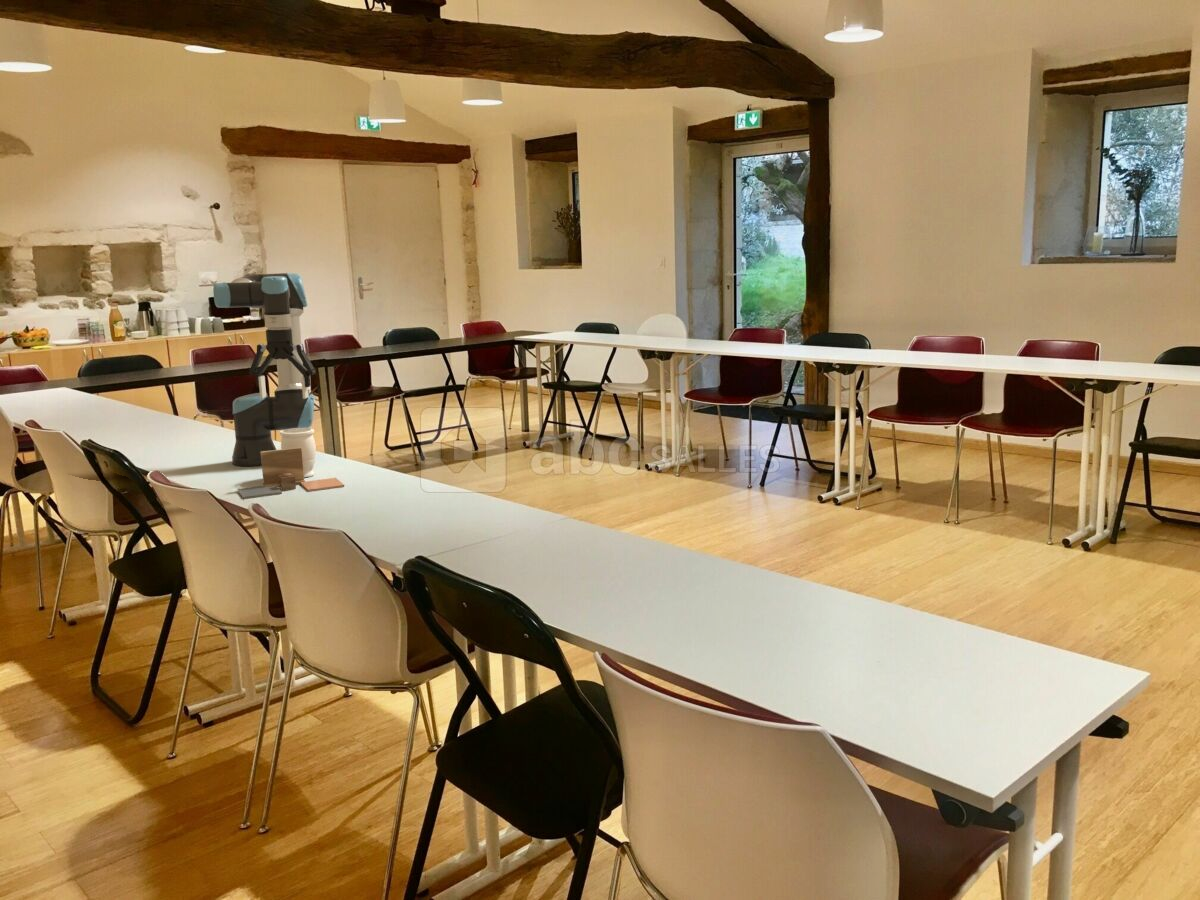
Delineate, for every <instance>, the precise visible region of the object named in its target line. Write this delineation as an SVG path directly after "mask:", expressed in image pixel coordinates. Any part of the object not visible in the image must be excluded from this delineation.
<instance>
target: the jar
mask: <svg viewBox="0 0 1200 900" xmlns="http://www.w3.org/2000/svg"><path fill="white" fill-rule="evenodd" d="M314 433H315V429H314V428H313V427H309V428H291V429H286V430H279V434H280V436H281V441H280V449H289V448H298V447H301V450H302V462H303V474H304V479H305V478H311V477H313V476H314V475H315V472H314V471H313V469H314V467H315V463H316V451H317V450H316V449H317V447H316V442H315V437H314V435H313V434H314Z"/></svg>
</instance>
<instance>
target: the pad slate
mask: <svg viewBox="0 0 1200 900" xmlns="http://www.w3.org/2000/svg"><path fill="white" fill-rule="evenodd" d="M236 491H237V492H238V493H239V496H241V498H242V499H243V500H244V499H245V500H246V499H252V498H253V499H254V498H261V497H262V498H263V497H269V496H277V495H282V494H283V493H282V490H281V489H280V488H279V487H277V486H276V485H275V486H267V487H265V486H263V485H259V486H253V487H252V486H251V487H244V488H242V487H241V488H237V489H236Z"/></svg>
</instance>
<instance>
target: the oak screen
mask: <svg viewBox="0 0 1200 900" xmlns="http://www.w3.org/2000/svg"><path fill="white" fill-rule="evenodd" d="M261 462H262V465H261V470H262V486H265V487H267V486H275V485H276V486H277V487H278V488H280V482H279V475H282V474H286V473H291V474H293V475H294V476H295V483H296V486H297V485H301V484H300V482H306V480H305V478H304V474H303V462H302V450H301V447H298V448H289V449H281V448H280V449H276V450H271V451H262V452H261Z"/></svg>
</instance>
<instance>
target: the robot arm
mask: <svg viewBox="0 0 1200 900" xmlns="http://www.w3.org/2000/svg"><path fill="white" fill-rule="evenodd" d="M213 301H214V305H215V306H216V308H218V309H219V308H222V309H223V308H225V309H229V308H250V309H251V308H253V309H263V314H264V315H263V316H264V326H265V328H266V330H265V337H266V338H265V340H266V344H264V343H259V344H257V345H256V353H255V355H254V358H253V361H252V363H251V366H250V368H249V371H248V374H249V375H252V376H254V377H255V384H256V385H255V386H256V388H259V392H255V393H250V394H246V395H243V396H239V397H237V398H235V399H234V400H233V401H232V415H233V424H234V435H235V443H234V448H233V453H232V455H231V456H232V457H231V461H232V462H231V463H232V465H234V466H238V467H256V466H262V462H261V452H262V451H271V450H277V448H276V445H275V442H274V441H273V438H272V431H282V430H286V429H291V428H312V426H313V421H314V412H315V411H314V410H315V395H314V394H312V393H310V388H309V387H311V385H312V384H311V376H313V375H315V374H316V373H317V371H316V369H315V367H314V365H313V364H312V361H311V360H310V359H309V357H308V355H307V353H306V351H305V347H304V344H303V343H302V335H301V324H300V323H301V321H300V317H301V316H302V314H303V313H304V308H306V307H308V302H307V298H306V294H305V288H304V283H303V278H302V276H301V275H300V274H298V273H288V272H286V273H261V274H260V273H257V274H249V275H246V276H245V275H244V276H242V277H241V276H240V277H239V278H235V279H234V280H232V281H231V282H219V283H218V282H217V283H214V285H213ZM266 351H267V352H268V354H267V355H266V357H265V359H264V361H263V362H262V364H260V363H261V360H262V358H263V356H264V354H265V353H264V352H266ZM273 360H276V368H277V383H278V385H277V387H276V389H275V390H274V392H273V393H274V396H269V395H268V393H267V390H266V389H267V388H266V386H267V385H266V377H265V375H263V374H264V372H265V371H266V370H267V369H268V367H269V366H270V364H271V363H272V361H273ZM259 365H260V366H259Z"/></svg>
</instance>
